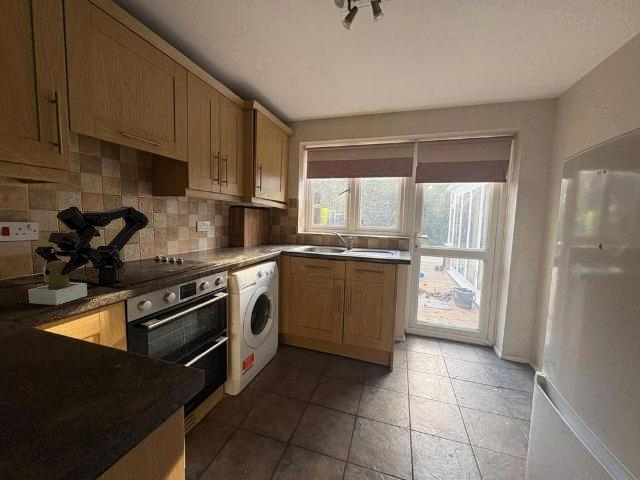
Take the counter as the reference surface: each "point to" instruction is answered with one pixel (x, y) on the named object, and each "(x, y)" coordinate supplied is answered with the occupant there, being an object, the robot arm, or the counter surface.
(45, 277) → the sprinkles bottle
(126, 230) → the robot arm
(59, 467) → the counter surface
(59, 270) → the cork
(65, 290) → the end cap socket
